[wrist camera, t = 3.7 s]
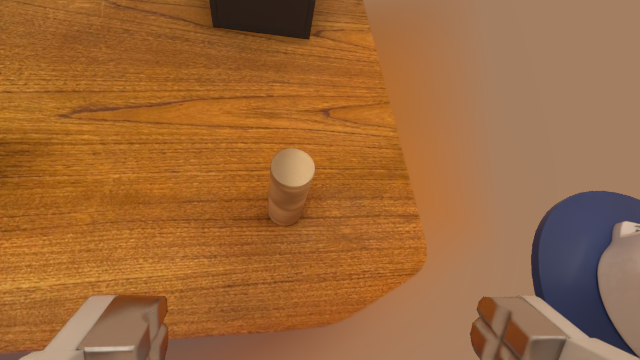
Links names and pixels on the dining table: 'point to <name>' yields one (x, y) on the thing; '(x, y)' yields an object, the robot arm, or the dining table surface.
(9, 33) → the dining table surface
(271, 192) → the dowel
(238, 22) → the bin
